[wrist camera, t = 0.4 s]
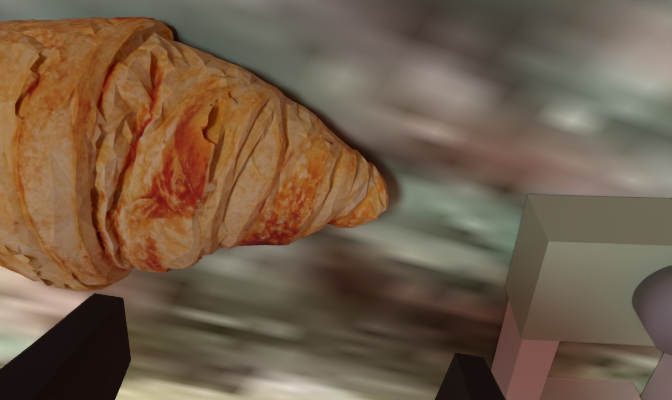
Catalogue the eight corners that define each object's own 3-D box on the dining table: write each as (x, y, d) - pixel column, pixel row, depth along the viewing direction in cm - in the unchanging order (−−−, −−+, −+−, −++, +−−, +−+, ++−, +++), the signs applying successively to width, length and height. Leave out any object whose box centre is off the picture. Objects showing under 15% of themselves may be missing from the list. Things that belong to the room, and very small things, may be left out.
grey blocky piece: (671, 406, 26) (722, 498, 22) (479, 395, 27) (495, 482, 23) (796, 202, 19) (902, 286, 15) (527, 194, 19) (563, 272, 16)
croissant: (398, 74, 21) (439, 29, 13) (365, 302, 22) (384, 390, 14) (-106, 5, 20) (-387, -88, 12) (-115, 241, 21) (-379, 296, 13)
